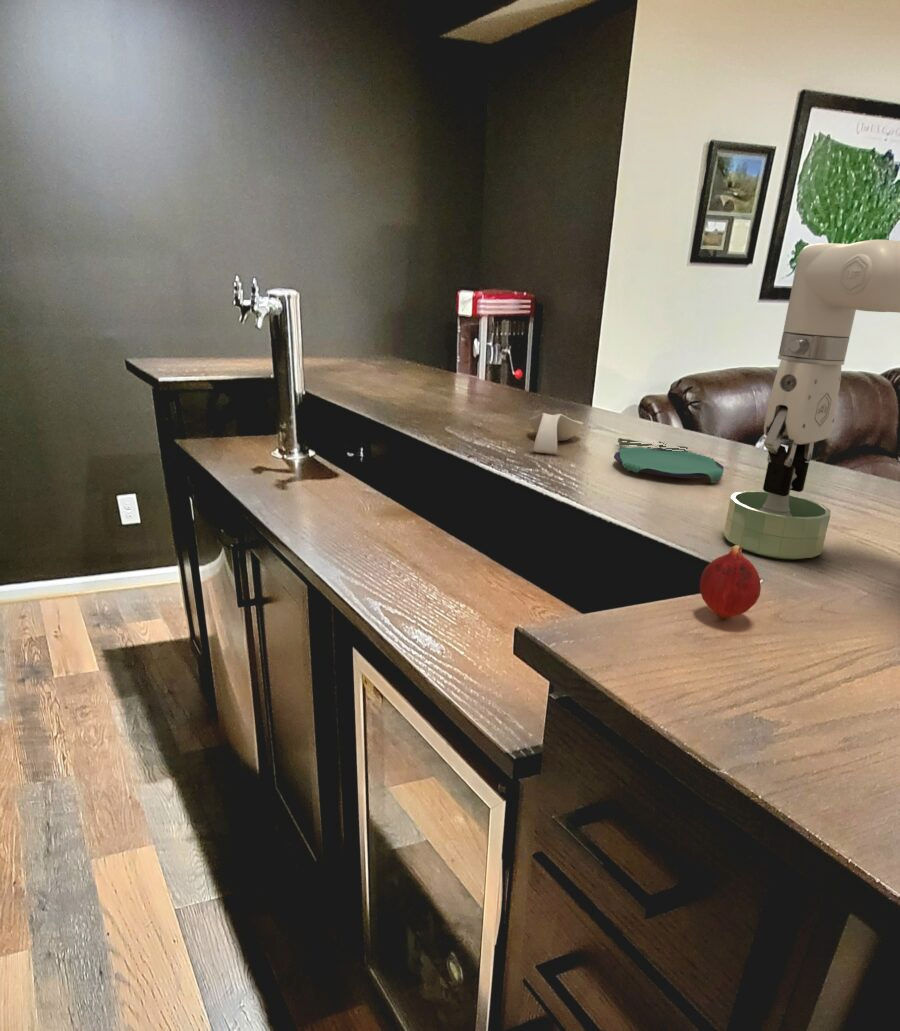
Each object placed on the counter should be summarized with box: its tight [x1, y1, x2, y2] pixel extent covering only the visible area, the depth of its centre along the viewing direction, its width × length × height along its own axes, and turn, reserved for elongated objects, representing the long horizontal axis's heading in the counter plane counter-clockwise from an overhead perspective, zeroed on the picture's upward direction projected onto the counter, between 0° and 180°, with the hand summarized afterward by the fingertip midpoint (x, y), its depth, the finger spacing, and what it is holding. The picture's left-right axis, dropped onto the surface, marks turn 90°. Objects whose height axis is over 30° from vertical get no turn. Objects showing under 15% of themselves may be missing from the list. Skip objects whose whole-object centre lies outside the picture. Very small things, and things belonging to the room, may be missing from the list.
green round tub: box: [723, 490, 831, 560], centre depth 97 cm, size 12×12×6 cm
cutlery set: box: [613, 437, 725, 485], centre depth 140 cm, size 20×30×2 cm, turn 170°
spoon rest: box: [528, 412, 584, 455], centre depth 152 cm, size 24×12×7 cm, turn 167°
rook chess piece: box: [759, 468, 797, 516], centre depth 96 cm, size 4×4×8 cm
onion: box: [699, 544, 762, 620], centre depth 74 cm, size 6×6×8 cm
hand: (783, 490), depth 95 cm, fingers closed on rook chess piece, 3 cm apart
